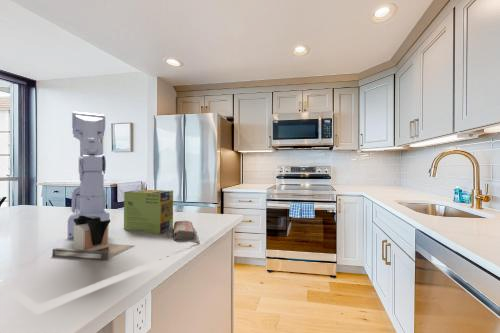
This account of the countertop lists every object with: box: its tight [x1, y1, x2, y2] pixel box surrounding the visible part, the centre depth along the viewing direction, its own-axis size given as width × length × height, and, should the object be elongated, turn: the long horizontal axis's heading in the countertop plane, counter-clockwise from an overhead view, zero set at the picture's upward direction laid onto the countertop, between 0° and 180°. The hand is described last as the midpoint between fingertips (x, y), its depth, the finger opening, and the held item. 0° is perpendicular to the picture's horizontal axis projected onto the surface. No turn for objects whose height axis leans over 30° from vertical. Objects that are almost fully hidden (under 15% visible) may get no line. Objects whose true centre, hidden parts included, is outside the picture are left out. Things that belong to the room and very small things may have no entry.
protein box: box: [123, 189, 174, 235], centre depth 98 cm, size 10×15×16 cm
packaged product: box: [167, 220, 200, 245], centre depth 88 cm, size 18×5×10 cm
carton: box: [73, 223, 110, 251], centre depth 72 cm, size 5×7×7 cm
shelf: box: [51, 243, 135, 261], centre depth 70 cm, size 16×12×3 cm
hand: (91, 242), depth 72 cm, fingers closed on carton, 5 cm apart
